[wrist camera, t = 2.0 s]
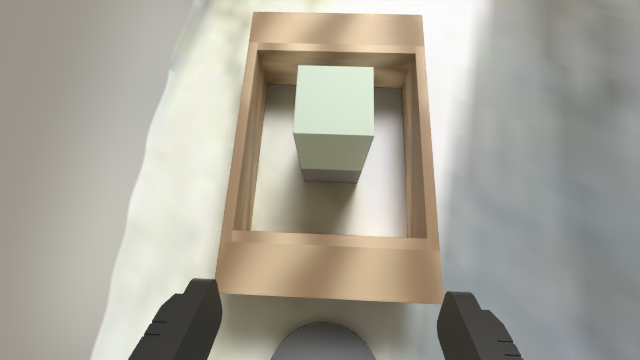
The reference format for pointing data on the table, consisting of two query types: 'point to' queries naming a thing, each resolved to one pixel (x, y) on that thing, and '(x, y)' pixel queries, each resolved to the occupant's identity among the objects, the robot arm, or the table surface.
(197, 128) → the table surface
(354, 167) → the box
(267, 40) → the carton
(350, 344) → the slate mat
